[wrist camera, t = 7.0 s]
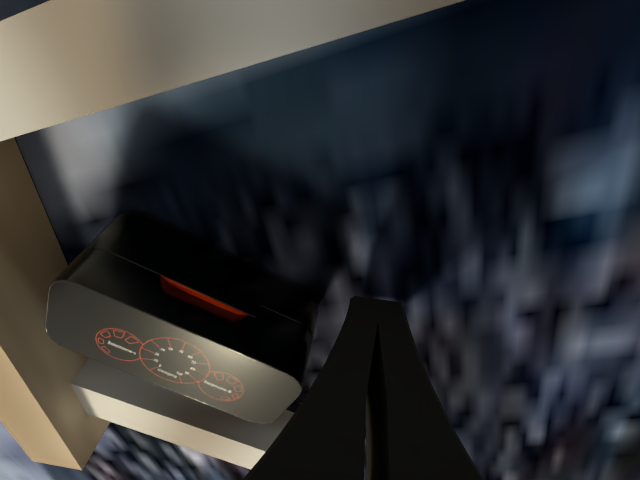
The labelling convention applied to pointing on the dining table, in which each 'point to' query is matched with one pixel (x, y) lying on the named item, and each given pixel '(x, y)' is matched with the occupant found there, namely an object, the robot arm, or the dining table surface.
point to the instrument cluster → (185, 317)
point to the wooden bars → (37, 233)
